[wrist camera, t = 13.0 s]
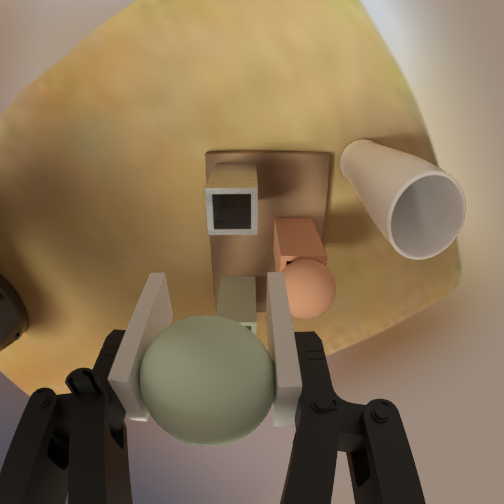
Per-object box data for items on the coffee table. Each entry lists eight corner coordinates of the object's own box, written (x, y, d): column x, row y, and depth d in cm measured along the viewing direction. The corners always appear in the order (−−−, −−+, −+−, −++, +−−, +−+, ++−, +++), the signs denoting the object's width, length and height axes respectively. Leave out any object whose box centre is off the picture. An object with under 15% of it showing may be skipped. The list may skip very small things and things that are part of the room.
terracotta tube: (273, 250, 35) (278, 293, 28) (274, 217, 33) (281, 256, 26) (308, 250, 35) (321, 293, 28) (311, 218, 33) (327, 255, 26)
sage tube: (223, 302, 39) (218, 349, 32) (221, 276, 37) (215, 322, 30) (255, 302, 39) (256, 349, 32) (255, 276, 37) (256, 322, 30)
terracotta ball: (272, 295, 29) (276, 332, 25) (274, 248, 27) (280, 281, 22) (324, 294, 29) (336, 329, 25) (331, 247, 27) (347, 280, 22)
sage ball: (165, 369, 14) (148, 459, 10) (143, 286, 12) (103, 391, 7) (269, 370, 14) (276, 464, 10) (273, 286, 12) (287, 399, 7)
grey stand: (217, 200, 32) (208, 235, 25) (215, 163, 30) (205, 188, 23) (255, 200, 32) (257, 234, 25) (255, 162, 30) (257, 187, 23)
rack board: (216, 305, 41) (216, 311, 40) (206, 151, 31) (205, 154, 30) (311, 304, 41) (312, 310, 40) (327, 153, 31) (330, 155, 30)
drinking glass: (328, 188, 33) (376, 261, 20) (335, 128, 30) (397, 163, 17) (383, 193, 33) (452, 262, 20) (393, 136, 30) (476, 177, 17)
